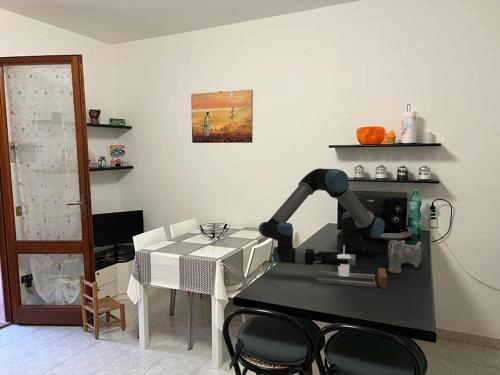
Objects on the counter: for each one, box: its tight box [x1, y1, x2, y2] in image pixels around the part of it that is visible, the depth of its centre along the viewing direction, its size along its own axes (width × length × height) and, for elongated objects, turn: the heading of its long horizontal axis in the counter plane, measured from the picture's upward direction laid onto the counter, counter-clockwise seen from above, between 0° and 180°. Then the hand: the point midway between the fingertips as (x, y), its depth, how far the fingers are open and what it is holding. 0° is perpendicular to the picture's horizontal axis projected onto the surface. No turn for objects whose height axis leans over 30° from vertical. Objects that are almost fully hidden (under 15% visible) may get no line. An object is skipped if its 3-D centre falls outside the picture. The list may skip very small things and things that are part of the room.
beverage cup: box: [337, 245, 351, 277], centre depth 169 cm, size 6×6×14 cm
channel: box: [316, 267, 388, 289], centre depth 170 cm, size 30×12×5 cm, turn 74°
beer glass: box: [387, 240, 403, 274], centre depth 181 cm, size 7×7×15 cm
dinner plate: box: [378, 230, 411, 241], centre depth 251 cm, size 27×27×3 cm
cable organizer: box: [400, 239, 422, 269], centre depth 191 cm, size 15×11×12 cm
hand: (355, 259), depth 168 cm, fingers closed on beverage cup, 6 cm apart
